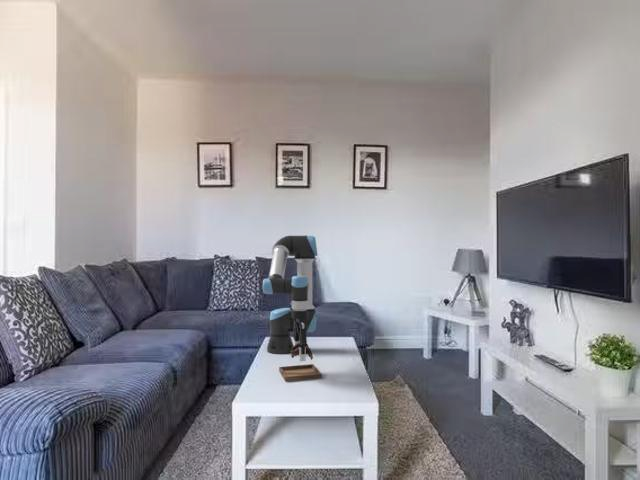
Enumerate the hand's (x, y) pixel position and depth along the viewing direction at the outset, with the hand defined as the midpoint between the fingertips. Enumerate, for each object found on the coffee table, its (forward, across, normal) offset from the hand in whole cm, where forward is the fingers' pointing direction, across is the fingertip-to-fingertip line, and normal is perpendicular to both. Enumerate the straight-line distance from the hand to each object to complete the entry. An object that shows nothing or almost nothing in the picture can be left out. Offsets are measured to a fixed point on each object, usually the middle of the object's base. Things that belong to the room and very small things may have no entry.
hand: (299, 358), depth 191 cm
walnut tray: (+8, 0, 0) cm, 8 cm away
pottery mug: (0, 0, +2) cm, 2 cm away
